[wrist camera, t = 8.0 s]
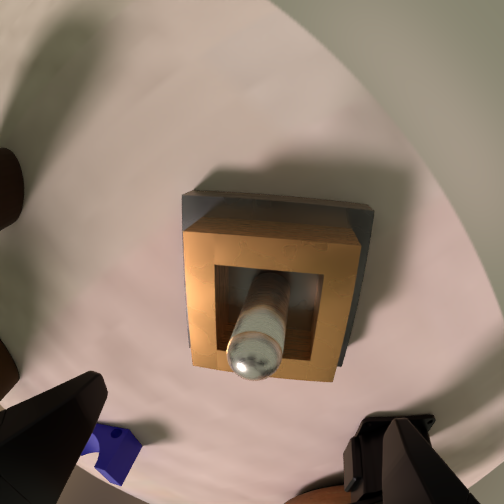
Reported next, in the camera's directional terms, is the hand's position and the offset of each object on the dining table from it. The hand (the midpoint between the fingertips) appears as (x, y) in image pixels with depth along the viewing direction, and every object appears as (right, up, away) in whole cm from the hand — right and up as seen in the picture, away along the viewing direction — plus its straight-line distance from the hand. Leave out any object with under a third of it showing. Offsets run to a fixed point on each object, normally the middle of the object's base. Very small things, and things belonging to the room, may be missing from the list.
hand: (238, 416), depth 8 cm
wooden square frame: (+1, +3, +7) cm, 8 cm away
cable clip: (-17, -16, +20) cm, 31 cm away
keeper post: (+1, +3, +9) cm, 10 cm away
